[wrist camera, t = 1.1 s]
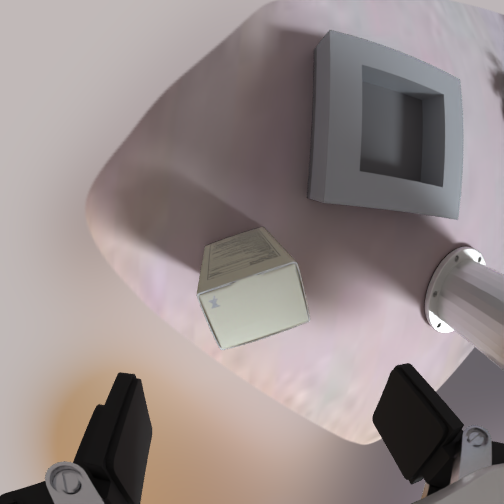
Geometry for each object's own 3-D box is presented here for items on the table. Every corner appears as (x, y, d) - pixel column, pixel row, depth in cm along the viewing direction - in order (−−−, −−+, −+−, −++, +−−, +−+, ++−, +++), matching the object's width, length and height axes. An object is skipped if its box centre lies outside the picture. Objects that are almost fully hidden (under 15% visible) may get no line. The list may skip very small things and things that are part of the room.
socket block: (434, 87, 25) (459, 79, 20) (430, 212, 29) (457, 219, 24) (314, 49, 24) (329, 29, 19) (307, 197, 28) (323, 202, 23)
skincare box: (218, 284, 29) (215, 354, 17) (203, 244, 28) (189, 295, 16) (279, 265, 29) (313, 324, 17) (267, 224, 28) (297, 260, 16)
